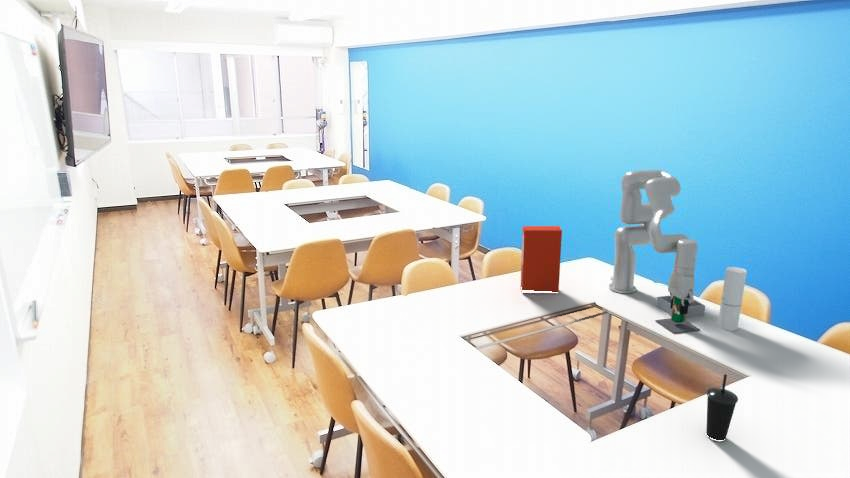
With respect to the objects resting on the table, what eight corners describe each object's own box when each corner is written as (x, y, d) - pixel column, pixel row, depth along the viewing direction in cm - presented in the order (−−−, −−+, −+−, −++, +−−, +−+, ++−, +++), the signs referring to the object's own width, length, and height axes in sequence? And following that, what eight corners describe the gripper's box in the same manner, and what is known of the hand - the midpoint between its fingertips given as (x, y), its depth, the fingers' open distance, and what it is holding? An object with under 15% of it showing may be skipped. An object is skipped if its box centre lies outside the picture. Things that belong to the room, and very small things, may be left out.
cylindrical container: (732, 323, 221) (741, 266, 213) (740, 331, 214) (750, 273, 207) (714, 323, 221) (723, 266, 214) (722, 330, 214) (731, 272, 207)
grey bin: (656, 306, 239) (657, 296, 238) (682, 303, 241) (684, 293, 240) (676, 318, 226) (677, 308, 225) (703, 315, 229) (705, 305, 227)
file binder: (558, 294, 254) (562, 230, 245) (522, 294, 256) (524, 230, 246) (555, 288, 262) (559, 225, 253) (520, 287, 263) (522, 225, 254)
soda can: (683, 318, 220) (687, 292, 217) (684, 323, 216) (688, 296, 212) (670, 317, 222) (673, 290, 219) (671, 322, 217) (674, 295, 214)
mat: (655, 321, 224) (655, 320, 224) (680, 318, 226) (680, 317, 226) (673, 333, 213) (673, 332, 212) (699, 330, 215) (700, 329, 215)
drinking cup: (695, 429, 155) (704, 368, 149) (720, 427, 155) (729, 367, 150) (710, 446, 147) (720, 383, 142) (737, 444, 148) (747, 381, 142)
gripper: (662, 263, 220) (657, 304, 225) (690, 277, 204) (684, 320, 209) (678, 262, 221) (673, 302, 226) (707, 276, 205) (701, 318, 210)
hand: (678, 310), depth 218 cm, fingers closed on soda can, 5 cm apart
